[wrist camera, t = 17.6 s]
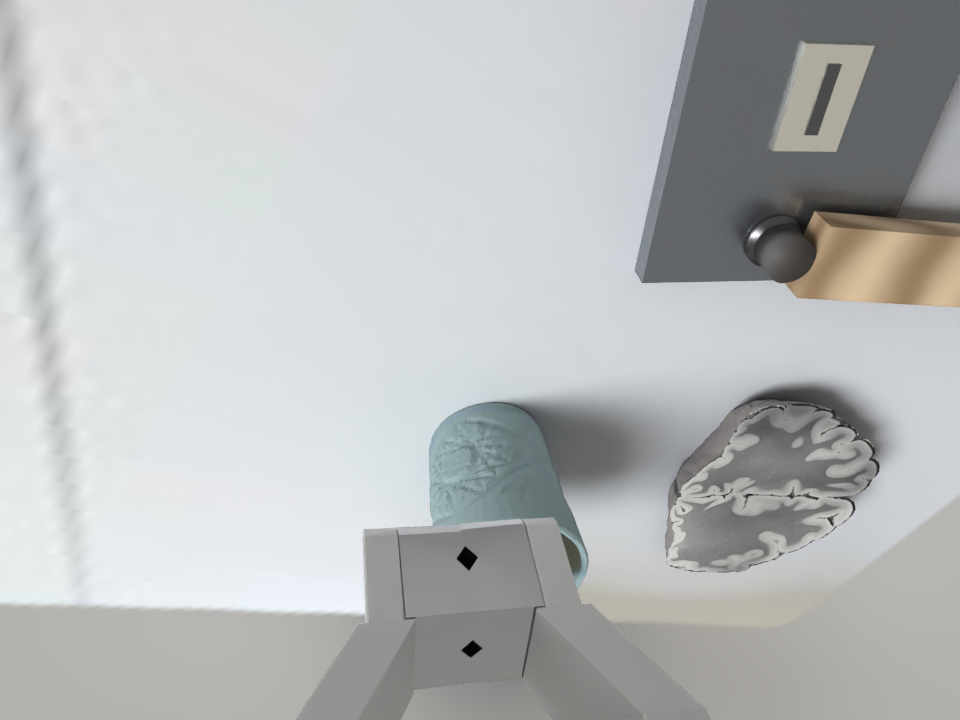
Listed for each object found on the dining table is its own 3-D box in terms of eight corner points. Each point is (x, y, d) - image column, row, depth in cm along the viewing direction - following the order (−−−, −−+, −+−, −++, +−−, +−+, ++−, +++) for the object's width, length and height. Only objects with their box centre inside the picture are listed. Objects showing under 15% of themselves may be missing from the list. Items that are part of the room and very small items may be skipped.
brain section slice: (798, 545, 74) (814, 571, 72) (630, 545, 70) (641, 573, 68) (901, 384, 62) (923, 409, 60) (707, 374, 58) (723, 400, 56)
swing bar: (740, 278, 50) (754, 295, 49) (770, 207, 47) (785, 223, 46) (965, 292, 54) (984, 308, 52) (1005, 227, 51) (1027, 242, 49)
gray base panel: (757, -282, 34) (776, -282, 33) (1073, -249, 37) (1104, -248, 35) (634, 270, 51) (643, 286, 50) (857, 266, 54) (872, 281, 52)
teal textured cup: (536, 489, 63) (573, 618, 54) (410, 493, 61) (425, 628, 52) (558, 391, 57) (603, 518, 48) (419, 393, 55) (438, 525, 46)
